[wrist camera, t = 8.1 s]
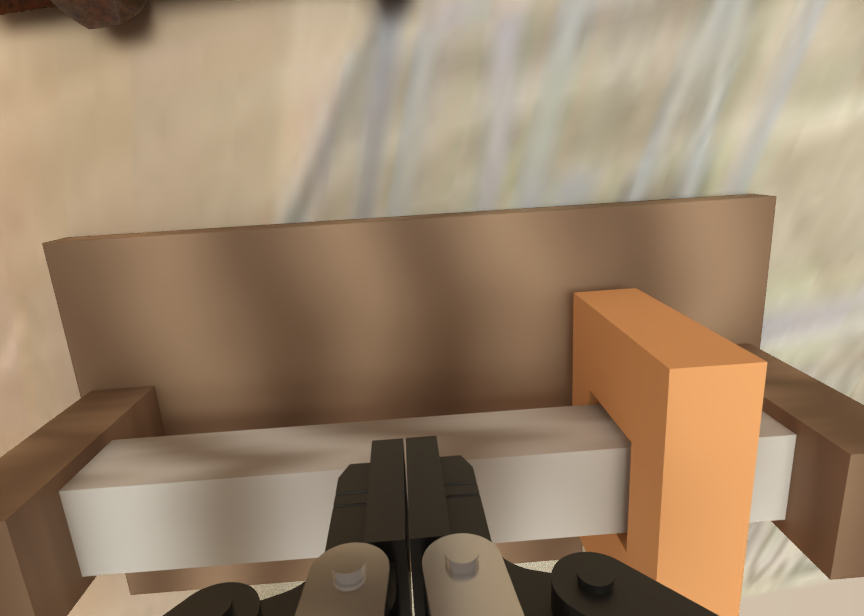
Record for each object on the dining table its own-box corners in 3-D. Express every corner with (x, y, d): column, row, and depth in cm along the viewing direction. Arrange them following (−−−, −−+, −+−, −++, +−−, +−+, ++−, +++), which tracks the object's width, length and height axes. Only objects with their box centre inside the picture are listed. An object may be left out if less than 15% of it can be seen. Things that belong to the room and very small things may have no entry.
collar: (570, 518, 23) (649, 690, 16) (573, 292, 21) (669, 369, 13) (626, 514, 23) (730, 683, 16) (635, 288, 21) (767, 361, 13)
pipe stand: (146, 570, 26) (-8, 812, 16) (66, 237, 22) (-205, 299, 12) (720, 524, 27) (896, 728, 17) (752, 193, 23) (1011, 219, 13)
